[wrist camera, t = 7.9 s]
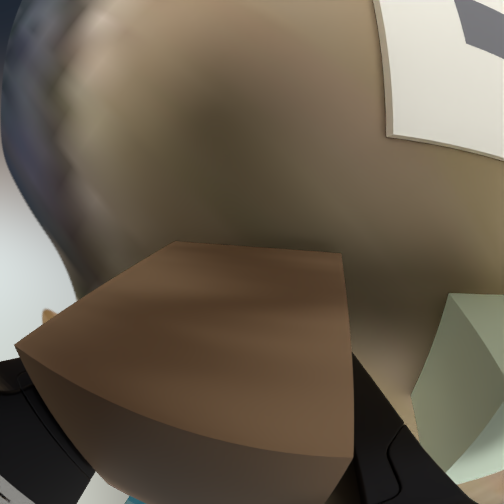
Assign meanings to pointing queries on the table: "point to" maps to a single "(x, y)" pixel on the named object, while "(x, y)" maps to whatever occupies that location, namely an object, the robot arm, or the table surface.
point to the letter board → (444, 72)
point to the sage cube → (464, 389)
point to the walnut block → (207, 375)
